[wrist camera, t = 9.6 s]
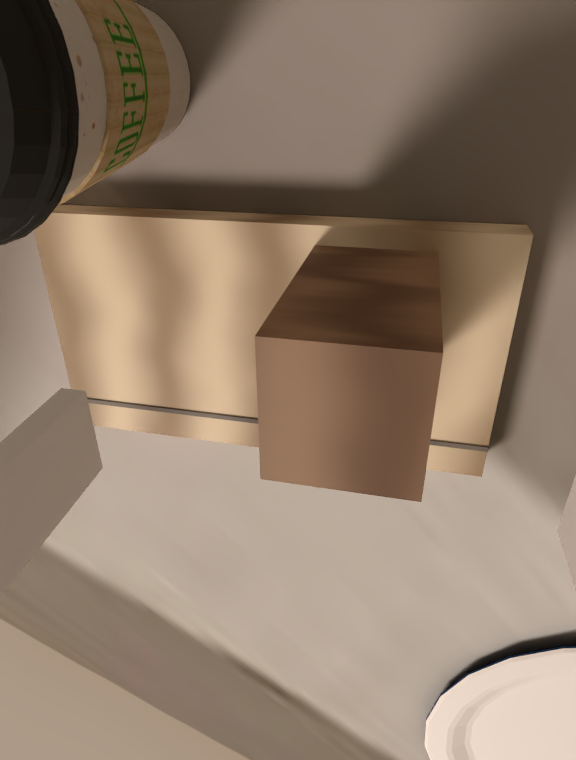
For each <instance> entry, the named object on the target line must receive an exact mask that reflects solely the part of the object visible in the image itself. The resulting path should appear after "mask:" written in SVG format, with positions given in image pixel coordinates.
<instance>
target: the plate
mask: <svg viewBox="0 0 576 760" xmlns="http://www.w3.org/2000/svg"><path fill="white" fill-rule="evenodd" d="M425 747H426V750H427V753H428V755H429V758H430V760H576V646H561V647H555V648H550V649H545V650H539V651H534V652H529V653H523V654H518V655H512V656H509V657H506V658H504V659H501V660H499V661H496V662H494V663H491V664H489V665H486V666H484V667H481V668H479V669H476V670H474V671H472V672H469V673H468V674H466V675H465V676H464V677H462V678H461V679H460V680H458V681H457V682H456V683H455V684H453V685H452V686H451V687H449V688H448V689H447V690H445V691H444V692H443V693H442V694H441V695H440V696H439V698H438V700H437V701H436V703H435V705H434V706H433V708H432V710H431V711H430V713H429V715H428V716H427V718H426V732H425Z"/></svg>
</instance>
